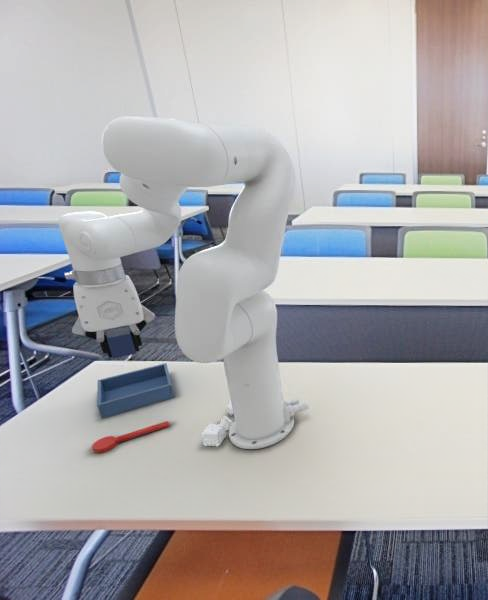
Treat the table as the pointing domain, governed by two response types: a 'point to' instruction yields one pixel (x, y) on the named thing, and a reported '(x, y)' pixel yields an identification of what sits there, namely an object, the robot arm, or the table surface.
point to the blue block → (120, 342)
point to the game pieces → (217, 429)
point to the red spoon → (124, 438)
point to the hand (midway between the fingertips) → (124, 351)
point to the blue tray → (133, 390)
